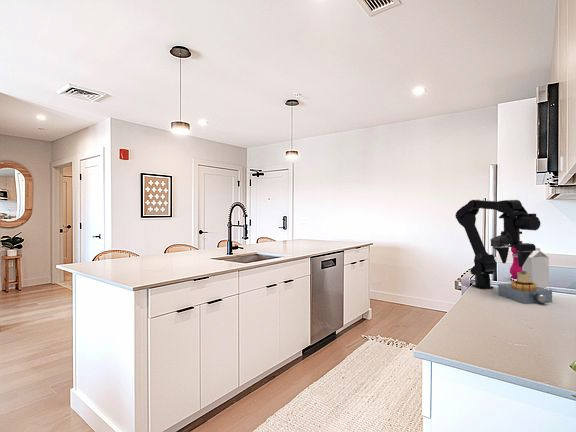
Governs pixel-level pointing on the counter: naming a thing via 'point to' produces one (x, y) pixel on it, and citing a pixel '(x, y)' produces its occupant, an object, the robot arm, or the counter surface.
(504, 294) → the gearbox
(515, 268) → the pepper mill
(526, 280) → the beige cylinder
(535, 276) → the milk carton
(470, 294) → the counter surface
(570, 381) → the counter surface
